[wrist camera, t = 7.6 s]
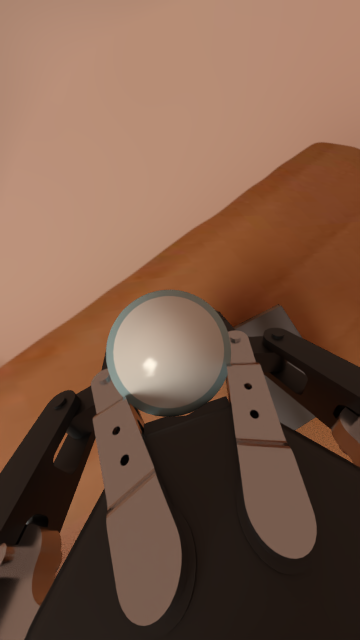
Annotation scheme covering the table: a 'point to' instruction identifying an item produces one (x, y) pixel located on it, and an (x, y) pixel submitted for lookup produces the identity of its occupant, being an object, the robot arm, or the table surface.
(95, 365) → the table surface
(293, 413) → the dark grey slab
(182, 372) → the ceramic tumbler
